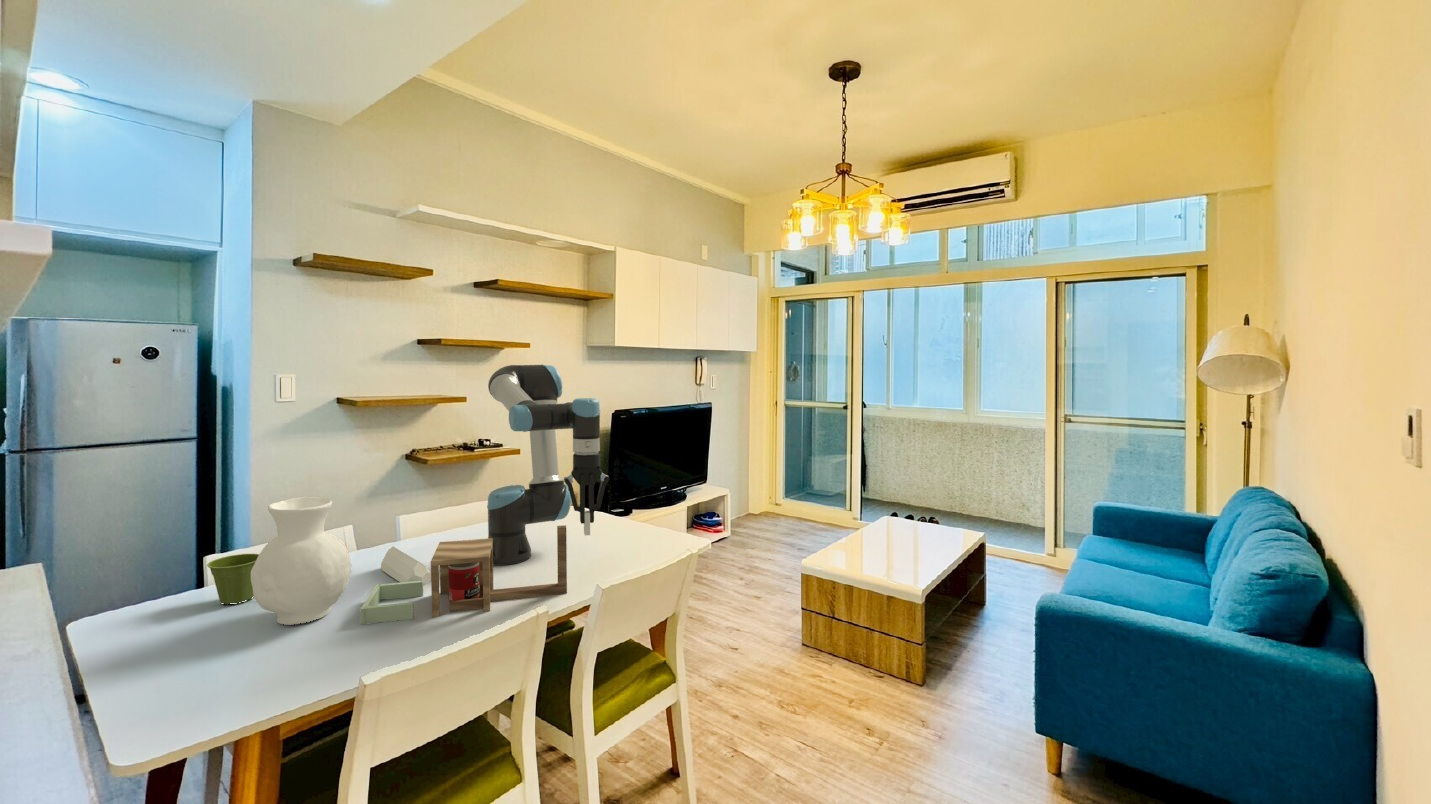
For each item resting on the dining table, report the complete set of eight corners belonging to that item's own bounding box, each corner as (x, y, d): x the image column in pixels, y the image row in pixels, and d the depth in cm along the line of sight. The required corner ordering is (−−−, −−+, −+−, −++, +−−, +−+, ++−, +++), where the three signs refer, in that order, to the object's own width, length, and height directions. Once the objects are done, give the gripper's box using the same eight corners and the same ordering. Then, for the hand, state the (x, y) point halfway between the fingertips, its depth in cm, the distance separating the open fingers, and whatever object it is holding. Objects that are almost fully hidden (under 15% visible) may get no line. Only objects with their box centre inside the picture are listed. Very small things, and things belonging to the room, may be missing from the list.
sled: (455, 594, 171) (453, 528, 170) (565, 583, 180) (564, 520, 178) (450, 611, 160) (448, 541, 158) (567, 599, 169) (567, 532, 167)
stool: (441, 592, 172) (439, 542, 171) (493, 587, 176) (492, 538, 175) (432, 617, 156) (430, 561, 155) (490, 610, 161) (488, 556, 159)
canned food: (469, 608, 162) (468, 568, 161) (442, 605, 163) (441, 566, 162) (485, 597, 169) (485, 559, 168) (460, 594, 171) (459, 556, 170)
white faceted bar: (371, 558, 188) (401, 579, 172) (392, 543, 192) (423, 561, 176) (384, 575, 191) (415, 597, 175) (405, 560, 196) (437, 579, 180)
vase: (310, 638, 144) (304, 514, 142) (234, 630, 148) (227, 509, 146) (368, 606, 162) (364, 496, 160) (299, 599, 166) (294, 491, 164)
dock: (376, 598, 167) (376, 584, 167) (423, 594, 171) (423, 580, 170) (360, 624, 152) (360, 609, 151) (412, 619, 155) (412, 603, 155)
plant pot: (274, 596, 168) (272, 556, 167) (224, 613, 157) (222, 570, 156) (249, 589, 173) (247, 550, 172) (199, 604, 162) (197, 563, 161)
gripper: (563, 455, 167) (564, 539, 169) (611, 453, 171) (611, 536, 173) (562, 451, 174) (563, 532, 176) (607, 449, 178) (608, 528, 180)
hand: (587, 534), depth 174 cm, fingers closed
